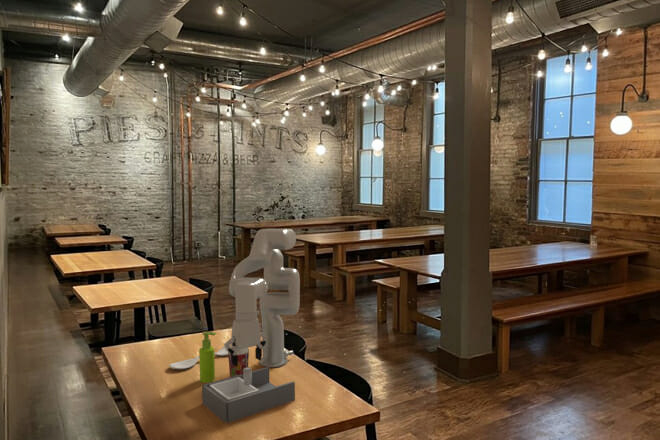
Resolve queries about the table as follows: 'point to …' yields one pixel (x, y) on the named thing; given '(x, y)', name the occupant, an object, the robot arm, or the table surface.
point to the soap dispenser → (207, 359)
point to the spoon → (195, 360)
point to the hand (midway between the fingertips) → (246, 362)
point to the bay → (249, 397)
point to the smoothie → (239, 362)
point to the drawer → (235, 386)
